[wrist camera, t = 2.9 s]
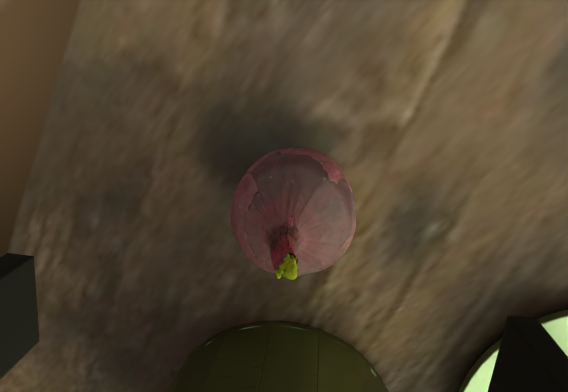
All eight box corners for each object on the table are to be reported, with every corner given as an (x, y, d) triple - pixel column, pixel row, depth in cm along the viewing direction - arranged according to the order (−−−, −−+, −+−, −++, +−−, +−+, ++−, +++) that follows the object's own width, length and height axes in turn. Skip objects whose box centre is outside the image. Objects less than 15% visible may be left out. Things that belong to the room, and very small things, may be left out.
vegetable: (267, 255, 27) (233, 361, 18) (227, 157, 26) (167, 216, 16) (366, 223, 26) (389, 319, 16) (331, 120, 24) (332, 159, 15)
